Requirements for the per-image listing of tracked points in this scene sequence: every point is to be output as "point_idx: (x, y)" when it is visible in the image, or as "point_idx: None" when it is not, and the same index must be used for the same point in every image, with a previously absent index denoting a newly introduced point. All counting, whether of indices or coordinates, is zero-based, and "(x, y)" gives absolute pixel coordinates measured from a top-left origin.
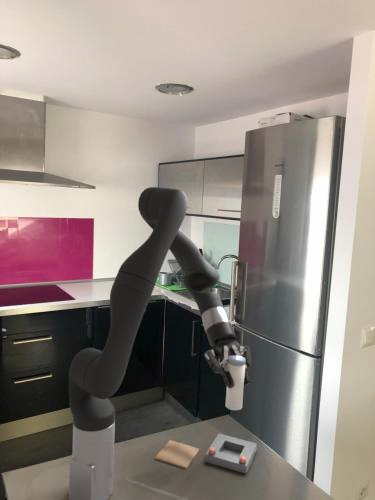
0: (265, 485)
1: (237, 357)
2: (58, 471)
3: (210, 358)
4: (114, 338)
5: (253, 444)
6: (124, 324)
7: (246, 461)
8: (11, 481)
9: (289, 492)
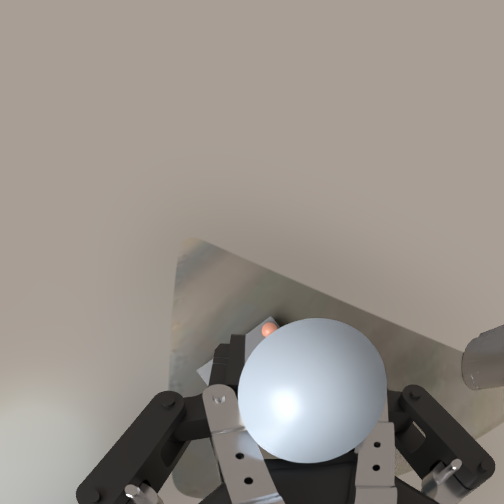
0: (250, 287)
1: (299, 412)
2: (495, 412)
3: (465, 441)
4: None
5: (205, 371)
6: None
7: (261, 328)
8: None
9: (224, 256)
